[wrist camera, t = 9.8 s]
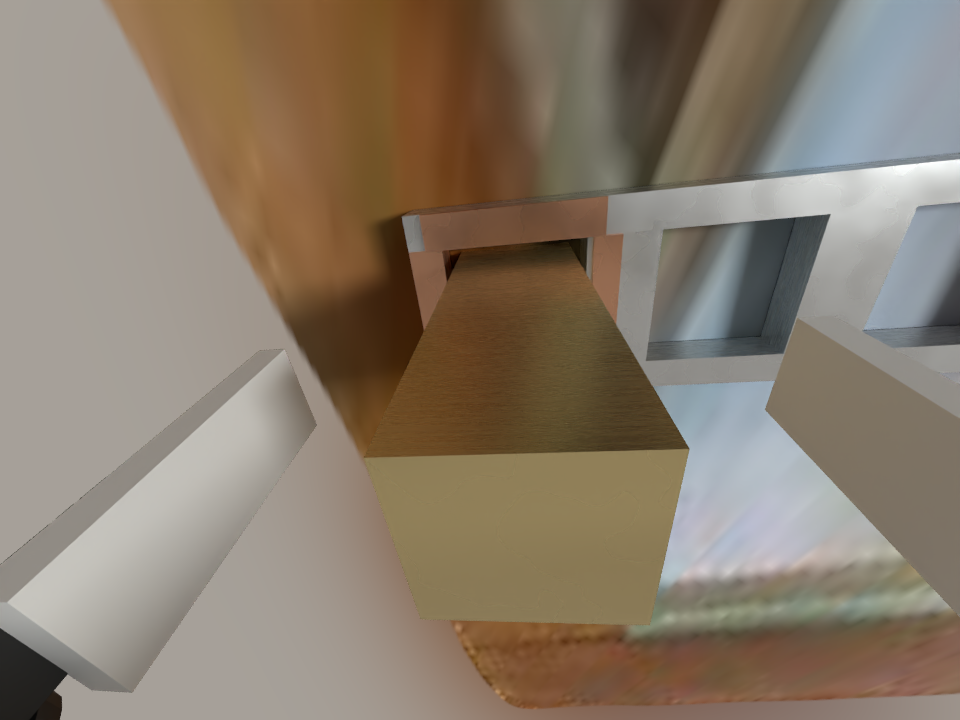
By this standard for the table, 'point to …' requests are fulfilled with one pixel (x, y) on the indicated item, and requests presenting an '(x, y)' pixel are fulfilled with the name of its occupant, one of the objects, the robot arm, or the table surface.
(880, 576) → the table surface
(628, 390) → the brass post
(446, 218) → the triple square frame
